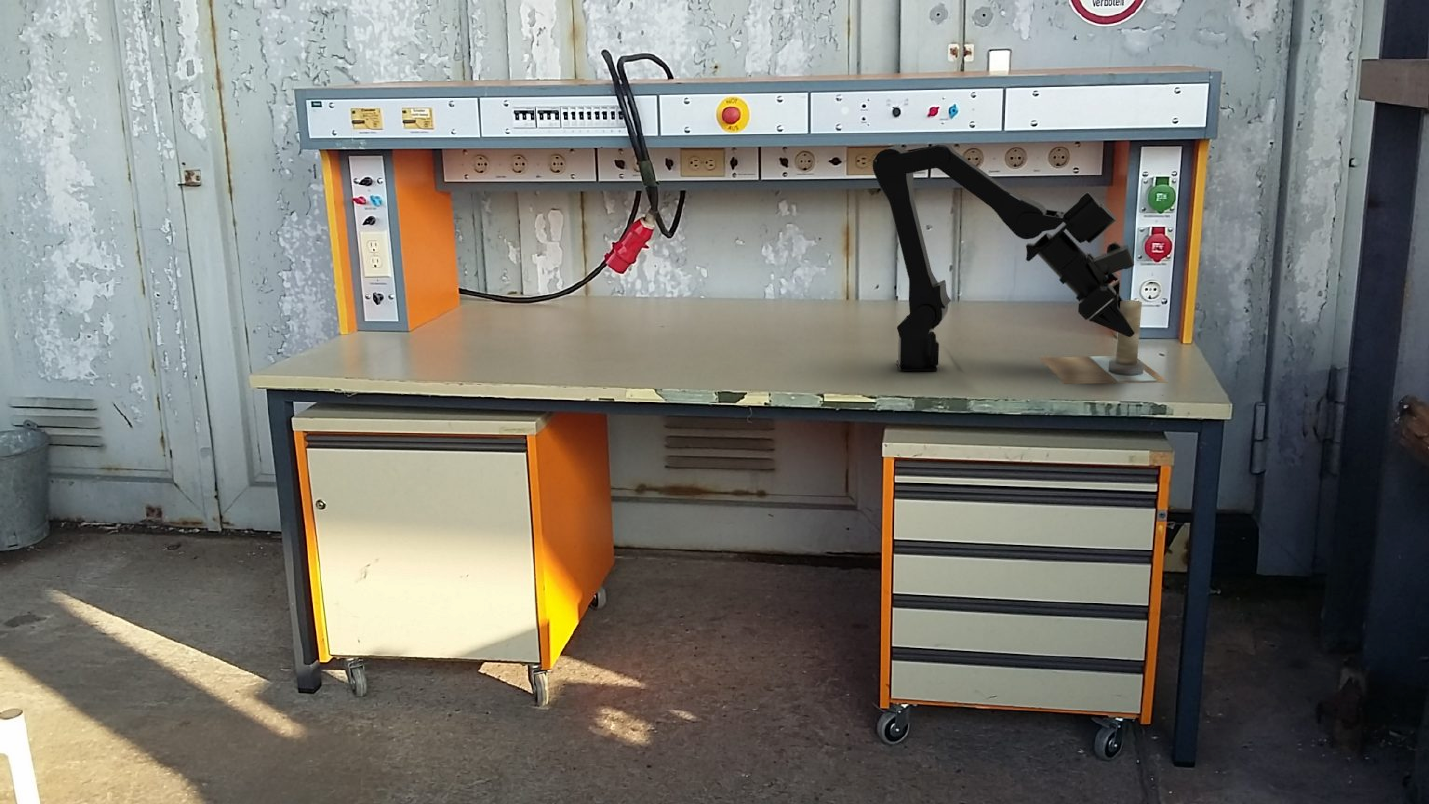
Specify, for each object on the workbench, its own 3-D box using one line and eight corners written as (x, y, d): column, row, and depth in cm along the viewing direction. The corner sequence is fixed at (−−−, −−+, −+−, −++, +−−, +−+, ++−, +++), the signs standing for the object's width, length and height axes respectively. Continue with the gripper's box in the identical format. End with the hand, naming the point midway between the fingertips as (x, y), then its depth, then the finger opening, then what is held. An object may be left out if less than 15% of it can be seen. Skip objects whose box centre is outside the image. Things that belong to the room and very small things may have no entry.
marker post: (1110, 375, 206) (1116, 305, 202) (1106, 366, 211) (1111, 298, 208) (1145, 376, 205) (1151, 305, 202) (1140, 367, 210) (1145, 299, 207)
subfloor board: (1064, 390, 202) (1065, 382, 202) (1038, 364, 220) (1039, 356, 219) (1168, 389, 202) (1168, 380, 202) (1134, 362, 219) (1134, 355, 219)
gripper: (1104, 237, 194) (1172, 308, 194) (1108, 221, 211) (1170, 287, 211) (1050, 283, 199) (1116, 354, 199) (1058, 265, 216) (1119, 329, 216)
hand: (1132, 329), depth 206 cm, fingers open, 9 cm apart
